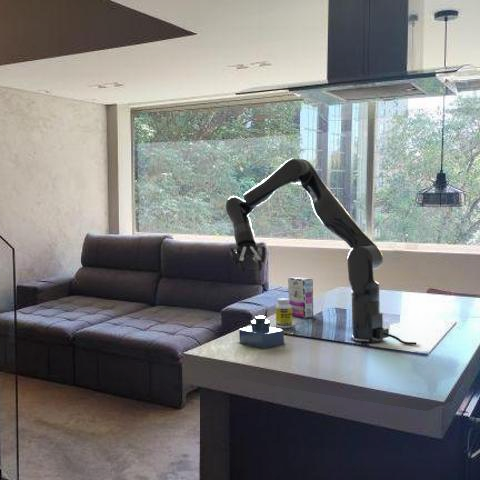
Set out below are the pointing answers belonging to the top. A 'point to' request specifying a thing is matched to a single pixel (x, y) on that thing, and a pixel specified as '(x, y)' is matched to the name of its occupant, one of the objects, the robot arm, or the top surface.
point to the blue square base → (261, 335)
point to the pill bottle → (283, 313)
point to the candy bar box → (301, 296)
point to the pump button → (260, 319)
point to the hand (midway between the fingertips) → (251, 270)
